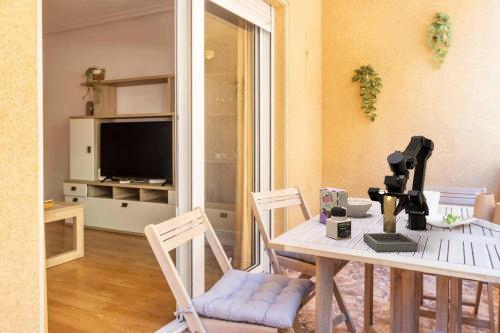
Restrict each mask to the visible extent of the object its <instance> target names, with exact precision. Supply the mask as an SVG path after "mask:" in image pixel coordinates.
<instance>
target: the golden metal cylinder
mask: <svg viewBox="0 0 500 333" xmlns="http://www.w3.org/2000/svg"><path fill="white" fill-rule="evenodd" d="M397 200H398V199H397V197H396V196H384V208H383V216H382V217H383V220H382V222H383V224H382V225H383V226H382V227H383V228H382V233H397V216H395V215H394V214H395V210H396V207H397Z"/></svg>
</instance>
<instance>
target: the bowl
mask: <svg viewBox="0 0 500 333" xmlns="http://www.w3.org/2000/svg"><path fill="white" fill-rule="evenodd" d="M372 206H373V201H371V200H365V199H351V198H350V199H347V217H351V218H362V217H364V216H365V214H366V213H367V212H369V211H370V209H371V207H372Z"/></svg>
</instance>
